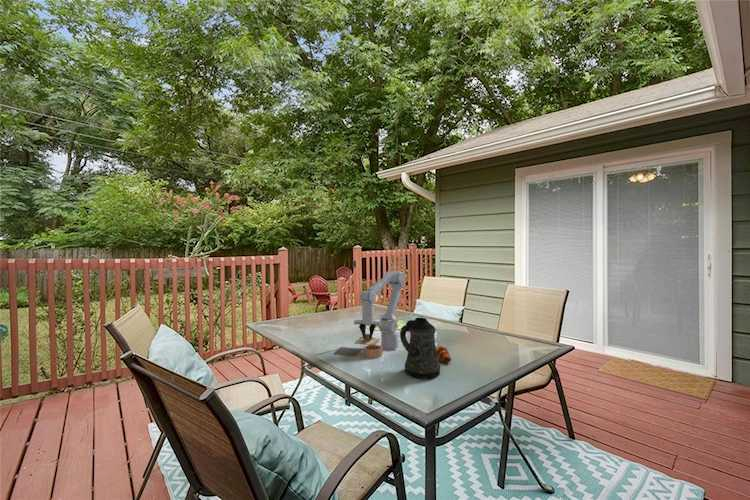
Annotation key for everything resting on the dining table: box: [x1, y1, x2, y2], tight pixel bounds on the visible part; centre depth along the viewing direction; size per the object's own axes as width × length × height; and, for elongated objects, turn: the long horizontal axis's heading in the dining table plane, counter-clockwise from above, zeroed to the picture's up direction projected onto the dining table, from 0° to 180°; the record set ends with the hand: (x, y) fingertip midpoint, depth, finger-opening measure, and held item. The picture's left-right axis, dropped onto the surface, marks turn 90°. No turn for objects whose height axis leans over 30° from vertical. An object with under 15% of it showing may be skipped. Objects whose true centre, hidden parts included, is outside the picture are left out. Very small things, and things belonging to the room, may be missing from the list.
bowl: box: [364, 344, 384, 359], centre depth 181 cm, size 9×9×4 cm
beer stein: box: [399, 317, 441, 380], centre depth 158 cm, size 16×19×25 cm
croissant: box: [435, 345, 452, 363], centre depth 179 cm, size 21×10×8 cm, turn 23°
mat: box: [332, 346, 363, 358], centre depth 186 cm, size 13×13×1 cm
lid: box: [354, 333, 381, 346], centre depth 182 cm, size 11×11×4 cm
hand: (367, 338), depth 182 cm, fingers closed on lid, 3 cm apart
